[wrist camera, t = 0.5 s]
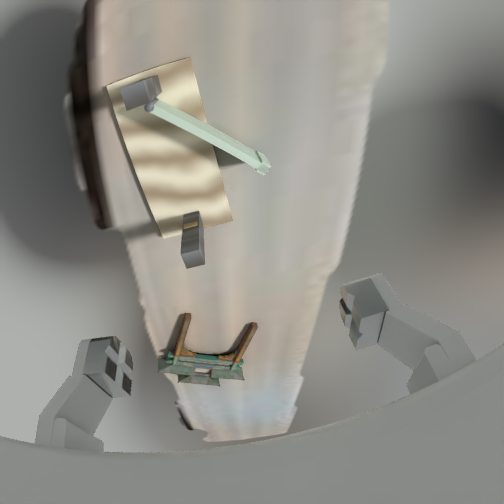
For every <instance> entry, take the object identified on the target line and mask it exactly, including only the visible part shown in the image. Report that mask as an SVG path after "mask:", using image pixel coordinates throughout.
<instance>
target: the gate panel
mask: <svg viewBox="0 0 504 504" xmlns="http://www.w3.org/2000/svg"><path fill="white" fill-rule="evenodd" d="M144 109H145V111H146V112H150V113H152V114H154V115H156V116H158V117H160V118H162V119H164V120H166V121H168V122H170V123H172V124H174V125H176V126H178V127H180V128H182V129H184V130H186V131H188V132H190V133H192V134H194V135H196V136H198V137H200V138H202V139H203V140H205V141H207V142H209V143H211V144H213V145H215V146H217V147H218V148H220V149H222V150H224V151H226V152H228V153H229V154H231V155H233V156H235V157H237V158H238V159H240V160H242V161H244V162H245V163H247V164H249V165H251V166H252V167H254V168H255V169H256V171H257V172H259V173H261V174H262V175H264V176H265V174H266V173H267V172H268V170H269V169H270V168H271V165H270V164H269V162H268V160H267V159H266V157H265V155H264V154H262V153H260V152H259V151H256V152H255V151H254V150H252V149H250V148H249V147H247V146H245V145H243V144H242V143H240V142H238V141H236V140H235V139H233V138H231V137H229V136H228V135H226V134H224V133H222V132H220V131H219V130H217V129H215V128H213V127H211V126H210V125H208V124H206V123H204V122H202V121H200V120H198V119H196V118H195V117H193V116H191V115H189V114H187V113H185V112H183V111H181V110H179V109H177V108H175V107H173V106H171V105H169V104H167V103H165V102H163V101H161V100H159V99H158V98H155V99H153V100H152V101H151V102H150V103H148V104H146V105H145V106H144Z"/></svg>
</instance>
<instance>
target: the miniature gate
mask: <svg viewBox="0 0 504 504" xmlns="http://www.w3.org/2000/svg"><path fill="white" fill-rule="evenodd" d="M190 321H191V314H190V313H186V314H185V317H184V320H183V323H182V326H181V329H180V333H179V336H178V340H177V343H176V347H175V351H168V357H167V358H166V359H164V358H158V359H159V366H158V372H165V373H173V374H178V383H179V382H184V383H194V384H205V385H217V386H220V385H219V378H223V379H239V380H243V381H244V380H245V379H244V377H243V372H242V367H240V366H239V365H243V363H244V362H243V359H241V357H242V356H243V354H244V352H245V350H246V348H247V347H248V345H249V343H250V341H251V339H252V337H253V335H254V334H255V332H256V330H257V328H258V326H257V323H254V322H252V323H251V325H250V327H249V328H248V330H247V332H246V333H245V335H244V337H243V339H242V341H241V343H240V345H239V347H238V348H237V349H236V351H235V353H232V354H229V355H225V356H220V355H219V356H209V355H200V354H196V352H195V353H191V352H190V351H187V349H185V347H184V340H185V337H186V334H187V330H188V327H189V324H190Z"/></svg>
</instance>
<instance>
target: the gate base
mask: <svg viewBox="0 0 504 504" xmlns="http://www.w3.org/2000/svg"><path fill="white" fill-rule="evenodd" d="M106 87H107V90H108V93H109V97H110V100H111V103H112V106H113V109H114V112H115V115H116V118H117V121H118V124H119V127H120V130H121V133H122V135H123V138H124V141H125V144H126V147H127V149H128V152H129V155H130V158H131V160H132V163H133V166H134V168H135V171H136V174H137V176H138V179H139V181H140V184H141V186H142V189H143V191H144V194H145V196H146V199H147V201H148V204H149V206H150V209H151V211H152V213H153V216H154V218H155V221H156V223H157V225H158V228H159V230H160V232H161V235H162V237H163V239H165V238H168V237H172V236H176V235H180V234H182V241H181V256H182V259H183V261H184V263H185V266H186V268H187V269H188V268H192V267H196V266H200V265H204V264H205V254H204V228H207V227H210V226H214V225H218V224H222V223H226V222H230V221H233V219H232V215H231V212H230V208H229V204H228V200H227V197H226V193H225V189H224V185H223V181H222V178H221V174H220V170H219V166H218V163H217V159H216V155H215V151H214V147H213V144H211V143H209V142H207V141H205V140H203V139H202V138H200V137H198V136H196V135H194V134H192V133H190V132H188V131H186V130H184V129H182V128H180V127H178V126H176V125H174V124H172V123H170V122H168V121H166V120H164V119H162V118H160V117H158V116H156V115H154V114H152V113H150V112H146V111H145V109H144V106H145V105H146V104H148V103H150V102H151V101H152V100H153V99H155V98H158V99H159V100H161V101H163V102H165V103H167V104H169V105H171V106H173V107H175V108H177V109H179V110H181V111H183V112H185V113H187V114H189V115H191V116H193V117H195V118H196V119H198V120H200V121H202V122H204V123H206V124H207V120H206V116H205V113H204V109H203V105H202V101H201V97H200V93H199V89H198V85H197V81H196V77H195V73H194V69H193V65H192V62H191V58H186V59H182V60H179V61H175V62H172V63H169V64H165V65H162V66H159V67H156V68H153V69H150V70H147V71H144V72H141V73H139V74H136V75H133V76H130V77H128V78H125V79H123V80H120V81H117V82H115V83H113V84H110V85H108V86H106Z"/></svg>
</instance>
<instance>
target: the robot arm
mask: <svg viewBox="0 0 504 504" xmlns="http://www.w3.org/2000/svg"><path fill="white" fill-rule="evenodd" d="M340 294H341V296H342V299H341V300H340V304H339V306H340V313H341V317H342V320H343V322H344V325H345V326H346V327H348V328H350V334H349V335H350V338H351V340H352V342H353V345H354V347H355V349H356V350H358V349H361V348H365V347H367V346H371V345H374V344H377V343H378V345H379V346H380V347H382V348H384V350H386V351H387V352H389V353H390V354H391V355H393V356H394V357H395V358H397V359H398V360H399V361H401V362H402V363H404V364H405V365H406V366H408V367H409V368H410V369H412V370H413V371H414V372H413V374H412V376H411V378H410V379H409V381H408V383H407V385H406V386H407V388H408V390H409V393H410V395H408V396H405V397H403V398H401V399H398V400H396V401H393V402H391V403H389V404H387V405H384V406H381V407H379V408H376V409H373V410H371V411H368V412H365V413H362V414H359V415H356V416H354V417H350V418H347V419H344V420H341V421H338V422H335V423H332V424H329V425H325V426H321V427H318V428H314V429H310V430H307V431H303V432H299V433H295V434H291V435H286V436H282V437H277V438H273V439H268V440H263V441H257V442H252V443H246V444H240V445H234V446H227V447H219V448H211V449H201V450H190V451H177V452H156V453H155V452H153V453H152V452H151V453H123V452H122V453H121V452H103V446H104V443H103V442H102V440H100V439H98V438H96V437H94V436H93V435H94V433H95V431H96V429H97V427H98V425H99V423H100V421H101V420H102V418H103V416H104V414H105V412H106V410H107V409H108V407H109V405H110V403H111V401H112V400H113V399H112V398H116V397H125V396H131V386H132V385H131V384H132V380H131V379H130V378H129V375H130V374H131V373H132V371H133V361H132V356H131V354H130V352H129V351H128V349H127V348H126V347H123V346H121V345H120V342H121V341H120V340H119V339H118V338H117V337H116V336H109V337H101V338H93V339H87V340H82V341H81V342H80V344H79V347H78V351H77V355H76V360H75V364H74V368H73V373H72V376H69V377H68V378H67V379H66V381H65V382H64V383H63V385H62V386H61V387H60V388H59V390H58V391H57V392H56V394H55V395H54V396H53V398H52V399H51V400H50V402H49V403H48V405H47V406H46V407H45V409H44V410H43V411H42V413H41V414H40V415H39V421H38V426H37V432H36V439H35V444H34V443H28V442H24V441H18V440H14V439H10V438H6V437H1V436H0V504H504V343H503V344H502V345H500V346H498V347H497V348H495V349H494V350H492V351H491V352H489V353H487V354H486V355H484V356H483V357H481V358H479V359H478V360H476V358H475V356H474V355H473V353H472V352H471V350H470V348H469V347H468V345H467V343H466V342H465V340H464V338H463V337H462V335H461V334H460V332H459V331H457V330H455V329H453V328H451V327H449V326H448V325H446V324H444V323H442V322H440V321H438V320H436V319H434V318H432V317H430V316H428V315H427V314H425V313H422V312H421V311H419V310H417V309H415V308H413V307H411V306H409V305H407V304H406V305H403V304H402V303H401V301H400V300H399V298H398V297H397V295H396V293H395V292H394V290H393V289H392V287H391V286H390V284H389V283H388V281H387V280H386V278H385V277H384V275H383V274H381V273H379V274H376V275H372V276H369V277H365V278H362V279H358V280H355V281H352V282H348V283H345V284H341V287H340Z"/></svg>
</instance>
